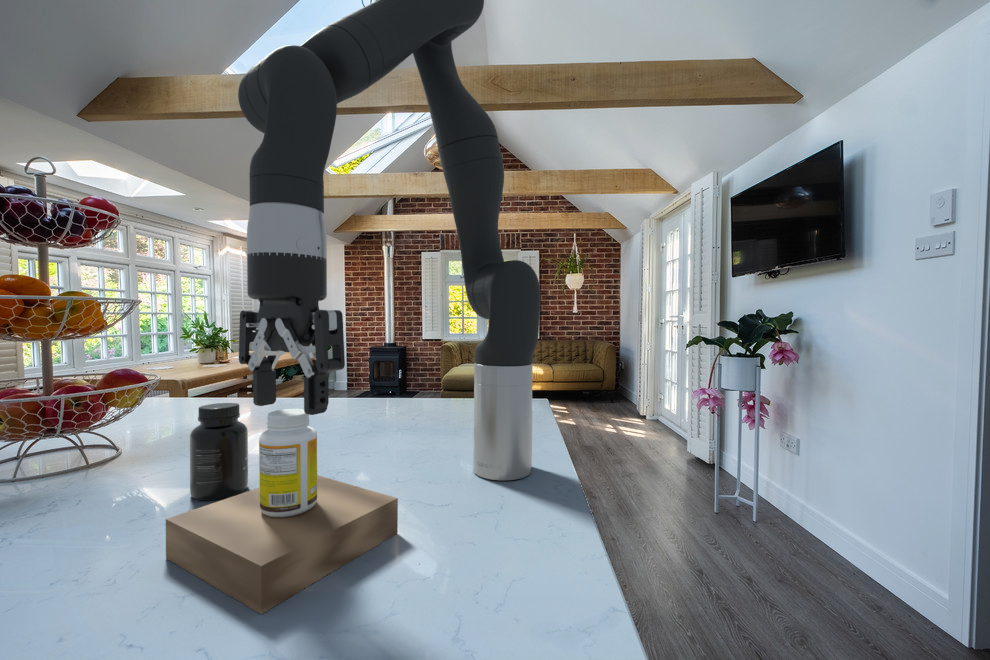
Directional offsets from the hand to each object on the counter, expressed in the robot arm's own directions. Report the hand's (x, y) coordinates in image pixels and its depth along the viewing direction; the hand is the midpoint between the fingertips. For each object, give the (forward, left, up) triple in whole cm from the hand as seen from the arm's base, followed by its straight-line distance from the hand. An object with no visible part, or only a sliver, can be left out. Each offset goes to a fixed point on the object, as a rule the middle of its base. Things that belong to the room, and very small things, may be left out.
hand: (289, 408), depth 47 cm
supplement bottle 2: (0, 0, -11) cm, 11 cm away
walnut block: (0, 0, -15) cm, 15 cm away
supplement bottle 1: (-4, -21, -15) cm, 26 cm away
